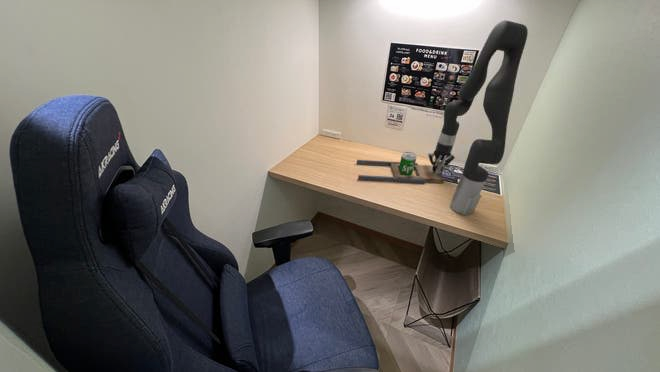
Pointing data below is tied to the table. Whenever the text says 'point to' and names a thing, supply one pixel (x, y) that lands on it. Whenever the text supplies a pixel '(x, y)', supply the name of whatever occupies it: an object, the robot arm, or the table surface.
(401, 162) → the soda can
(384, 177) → the lane rails
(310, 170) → the table surface
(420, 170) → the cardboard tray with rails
